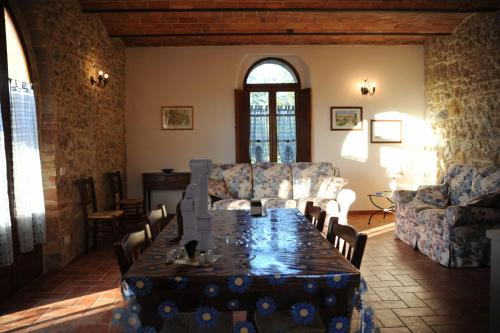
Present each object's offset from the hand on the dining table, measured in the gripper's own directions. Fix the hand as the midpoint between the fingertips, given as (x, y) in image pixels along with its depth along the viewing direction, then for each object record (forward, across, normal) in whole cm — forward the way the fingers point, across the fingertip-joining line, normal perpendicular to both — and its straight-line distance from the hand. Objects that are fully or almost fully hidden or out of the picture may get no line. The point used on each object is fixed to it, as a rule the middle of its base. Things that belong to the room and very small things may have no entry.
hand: (191, 258), depth 173 cm
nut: (+1, -3, 0) cm, 3 cm away
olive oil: (+2, -45, -28) cm, 53 cm away
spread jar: (+2, -115, -10) cm, 115 cm away
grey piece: (+1, 0, 0) cm, 1 cm away
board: (+2, -3, 0) cm, 4 cm away
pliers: (+3, -10, +22) cm, 24 cm away
